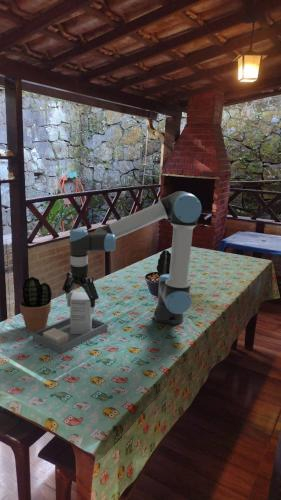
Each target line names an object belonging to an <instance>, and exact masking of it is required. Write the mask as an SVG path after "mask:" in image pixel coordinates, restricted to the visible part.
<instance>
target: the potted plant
mask: <svg viewBox="0 0 281 500" xmlns="http://www.w3.org/2000/svg"><path fill="white" fill-rule="evenodd" d="M51 289H52V288H51V286H50V285H49V284H48V283H46V282H43V283H40V280H39V278H37V277H33V276H31V277H29V278H26V279H25V280H24V283H23V285H22V300H21V301H20V302H19V309H20V311H19V312H20V315H21V316H22V317H23V321H24V325H25V329H26V330H28V331H31V332H37V331H39V330H41V329H44V328H46V327H48V321H49V320H48V319H49V315H50V313H51V311H52V310H51V307H52V305H51V303H52V294H53V293H52V290H51Z"/></svg>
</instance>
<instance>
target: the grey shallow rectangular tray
mask: <svg viewBox="0 0 281 500" xmlns="http://www.w3.org/2000/svg"><path fill="white" fill-rule="evenodd" d="M53 328H56V329H58V330H60V331H62V332H65V333H67V334H68V342H67V343H65V344H63V345H59V344H57V343H55V342H53V341H51V340H49V339H47V338H44V337H43V332H46V331H48V330H50V329H53ZM107 332H108V323H107V322H104V321H102V320H100V319H97V318H94V317H92V328H91V331H89V332H87V333H85V334H70V316H69V317H67V318H65V319H62V320H60V321H57V322H55V323H54V324H53V323H52V324H51V325H47V326H46V328H44V329H41V330H39V331H33V332H32V341H34V342H37V343H39V345H40V344H41V345H43V346H45V347H47V348H49V349H51V350H53V351H55V352H57V353H59V354H63V353H66V352H68V351H69V350H71V349H73V348H75V347H77V346H79V345H81V344H83V343H85V342H87V341H88V340H91V339H92V338H94V337H97V336H98V335H100V334H101V333H107Z"/></svg>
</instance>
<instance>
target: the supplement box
mask: <svg viewBox="0 0 281 500" xmlns="http://www.w3.org/2000/svg"><path fill="white" fill-rule="evenodd" d="M71 292H72V296H71V299H70V307H69V313H70V315H69V317H70V334H85V333H87V332H89V331H91V328H92V318H93V314H91V315H89V302H88V300H90V299H89V297H88V295H87V294H86V292H85V291H84V292H83V291H71Z"/></svg>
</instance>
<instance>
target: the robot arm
mask: <svg viewBox="0 0 281 500" xmlns="http://www.w3.org/2000/svg"><path fill="white" fill-rule="evenodd" d="M202 209H203V208H202V204H201V201H200V200H199V198H197V196H195V195H194V194H192V193H190V192H186V191H182V190H181V191H175V192H173V193H171V194H168V195H167V196H165V197H163V198H161V199H159V200H158V201H157V202H156V203H155V204H152V205H150V206H147V207H146V208H143V209H141V210H139V211H137V212H135V213H134V212H133V213H132V214H129V215H128V216H125V217H123V218H121V219H117V220H115V221H113V222H111V223H109V224H107V225H105V226H98V227H97V228H95V230H94V232H93V233H88V229H86V228H73V229H71V231H70V232H69V252H70V255H69V256H70V271H69V272H67V273H66V278H65V281H64V284H63V286H62V291H64V292H65V299H66V306H67V308H70V299H71V296H72V292H73V289H74V287H75V286H78V287H79V286H80V287H81V288H83V290H84V292H86V294H87V295H88V297H89V299H90V300H88V302H89V315H91V314H92V315H93V314H94V313H95V307H96V300H99V294H98V292H97V289H96V287H95V283H94V278H93V276H91V277H88V273H89V265H88V264H89V255H88V254H89V253H88V252H114V251H115V250H116V240H117V239H118V238H121V237H123V236H125V235H126V236H127V235H129V234H130V233H133V232H135V231H138V230H139V229H143V228H144V227H147V226H149V225H152V224H153V223H156V222H158V221H161V220H163V219H166V220H168V219H170V225H171V226H172V227H173V229H172V241H171V251H170V252H171V253H170V259H169V260H170V263H169V271H168V272H169V273H165V274H161V275H160V276H159V277H158V295H157V296H158V297H157V305H156V307H155V310H154V313H153V320H155V322H157V323H158V324H159V323H160V324H161V325H169V326H170V325H171V326H174V325H178V324H181V323H183V321H184V313H186V312H187V311H188V310H189V309H190V308H191V306H192V302H193V301H192V296H191V294H190V293H191V285H192V284H191V282H190V281H189V269H190V260H191V254H192V253H191V251H192V242H193V241H192V240H193V232H194V231H193V230H194V229H195V227H197V225H198V220H199V218H200V216H201V214H202Z"/></svg>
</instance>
